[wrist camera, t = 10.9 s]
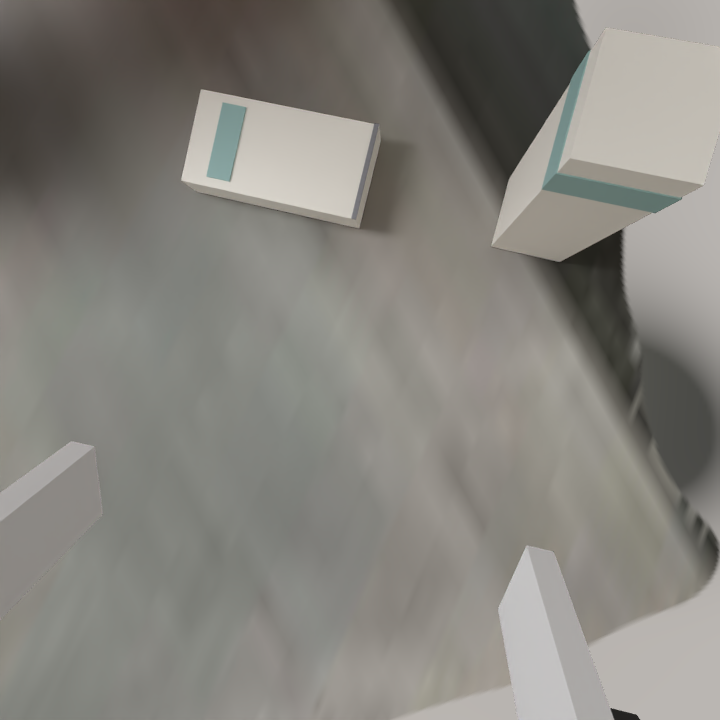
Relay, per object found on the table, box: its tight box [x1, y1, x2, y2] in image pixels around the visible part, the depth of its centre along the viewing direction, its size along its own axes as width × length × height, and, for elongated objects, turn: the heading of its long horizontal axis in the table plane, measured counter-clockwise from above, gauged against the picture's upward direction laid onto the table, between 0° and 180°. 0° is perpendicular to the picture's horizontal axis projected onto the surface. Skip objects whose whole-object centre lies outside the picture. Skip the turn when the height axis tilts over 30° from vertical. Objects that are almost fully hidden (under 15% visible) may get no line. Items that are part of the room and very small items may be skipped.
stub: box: [491, 27, 720, 262], centre depth 21 cm, size 5×5×13 cm
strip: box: [181, 89, 381, 228], centre depth 28 cm, size 12×6×2 cm, turn 76°
